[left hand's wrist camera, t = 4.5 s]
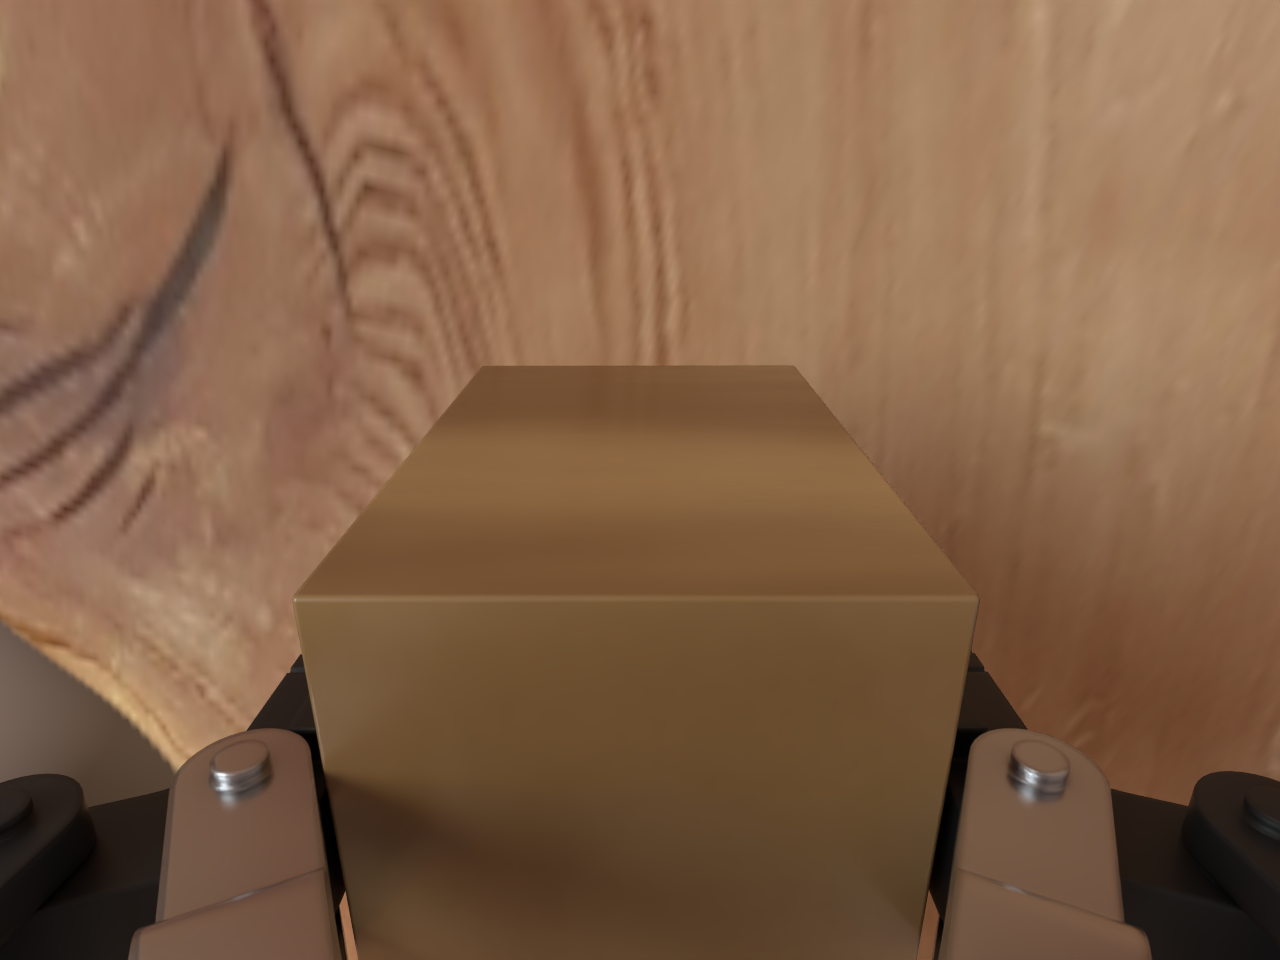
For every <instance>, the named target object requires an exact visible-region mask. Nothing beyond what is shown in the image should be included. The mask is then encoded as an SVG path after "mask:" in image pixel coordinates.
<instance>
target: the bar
mask: <svg viewBox="0 0 1280 960" xmlns="http://www.w3.org/2000/svg"><path fill="white" fill-rule="evenodd" d="M979 602H980V599H979V595H978V594H977V592H976V591H975V590H974V589H973V587H972V586H971V585H970V584H969V582H968V581H967V580H966V579H965V578H964V576H963V575H962V574H961V573H960V571H959V570H958V569H957V568H956V566H955V565H954V564H953V563H952V561H951V560H950V559H949V558H948V556H947V555H946V554H945V553H944V551H943V550H942V549H941V548H940V546H939V545H938V544H937V543H936V541H935V540H934V539H933V538H932V537H931V535H930V534H929V533H928V532H927V530H926V529H925V528H924V527H923V525H922V524H921V523H920V522H919V520H918V519H917V518H916V517H915V515H914V514H913V513H912V512H911V510H910V509H909V508H908V507H907V505H906V504H905V503H904V502H903V500H902V499H901V498H900V497H899V496H898V494H897V493H896V492H895V491H894V489H893V488H892V487H891V486H890V484H889V483H888V482H887V481H886V479H885V478H884V477H883V476H882V474H881V473H880V472H879V471H878V469H877V468H876V467H875V466H874V464H873V463H872V462H871V461H870V459H869V458H868V457H867V456H866V454H865V453H864V452H863V451H862V450H861V448H860V447H859V446H858V445H857V443H856V442H855V441H854V440H853V438H852V437H851V436H850V435H849V433H848V432H847V431H846V430H845V428H844V427H843V426H842V425H841V423H840V422H839V421H838V420H837V418H836V417H835V416H834V415H833V413H832V412H831V411H830V410H829V409H828V407H827V406H826V405H825V404H824V402H823V401H822V400H821V399H820V397H819V396H818V395H817V394H816V392H815V391H814V390H813V389H812V387H811V386H810V385H809V384H808V382H807V381H806V380H805V379H804V377H803V376H802V375H801V374H800V372H799V371H798V370H797V369H796V367H795V366H483V367H481V368H480V370H479V371H478V372H477V373H476V375H475V376H474V377H473V378H472V379H471V381H470V382H469V383H468V384H467V386H466V387H465V388H464V389H463V390H462V392H461V393H460V394H459V395H458V396H457V398H456V399H455V400H454V401H453V403H452V404H451V405H450V406H449V407H448V409H447V410H446V411H445V412H444V413H443V415H442V416H441V417H440V418H439V420H438V421H437V422H436V423H435V424H434V426H433V427H432V428H431V429H430V430H429V432H428V433H427V434H426V435H425V437H424V438H423V439H422V440H421V441H420V443H419V444H418V445H417V446H416V448H415V449H414V450H413V451H412V452H411V454H410V455H409V456H408V457H407V458H406V460H405V461H404V462H403V463H402V465H401V466H400V467H399V468H398V469H397V471H396V472H395V473H394V474H393V475H392V477H391V478H390V479H389V480H388V482H387V483H386V484H385V485H384V486H383V488H382V489H381V490H380V491H379V493H378V494H377V495H376V496H375V497H374V499H373V500H372V501H371V502H370V503H369V505H368V506H367V507H366V508H365V510H364V511H363V512H362V513H361V514H360V516H359V517H358V518H357V519H356V520H355V522H354V523H353V524H352V525H351V527H350V528H349V529H348V530H347V531H346V533H345V534H344V535H343V536H342V537H341V539H340V540H339V541H338V542H337V544H336V545H335V546H334V547H333V548H332V550H331V551H330V552H329V553H328V555H327V556H326V557H325V558H324V559H323V561H322V562H321V563H320V564H319V565H318V567H317V568H316V569H315V570H314V572H313V573H312V574H311V575H310V576H309V578H308V579H307V580H306V581H305V582H304V584H303V585H302V586H301V587H300V589H299V590H298V591H297V592H296V593H295V595H294V596H293V607H294V613H295V618H296V624H297V629H298V635H299V640H300V646H301V651H302V656H303V662H304V667H305V673H306V678H307V684H308V689H309V694H310V700H311V705H312V711H313V716H314V722H315V727H316V733H317V738H318V743H319V749H320V754H321V760H322V765H323V771H324V776H325V781H326V787H327V792H328V798H329V803H330V809H331V814H332V820H333V825H334V830H335V836H336V841H337V847H338V852H339V858H340V863H341V868H342V874H343V879H344V885H345V890H346V896H347V901H348V907H349V912H350V917H351V923H352V928H353V934H354V939H355V945H356V950H357V955H358V960H916V959H917V953H918V947H919V942H920V936H921V930H922V925H923V919H924V913H925V908H926V902H927V896H928V891H929V885H930V879H931V874H932V868H933V862H934V857H935V851H936V845H937V840H938V834H939V828H940V823H941V817H942V811H943V806H944V800H945V794H946V789H947V783H948V777H949V772H950V766H951V760H952V755H953V749H954V744H955V738H956V732H957V727H958V721H959V715H960V710H961V704H962V698H963V693H964V687H965V681H966V676H967V670H968V664H969V659H970V653H971V647H972V642H973V636H974V630H975V625H976V619H977V613H978V608H979Z"/></svg>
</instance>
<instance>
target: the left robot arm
mask: <svg viewBox="0 0 1280 960" xmlns="http://www.w3.org/2000/svg"><path fill="white" fill-rule="evenodd" d="M929 891H930V893H931V896H932V898H933V900H934V903H935V905H936V908H937V910H938V913H939V917H938V923H937V928H936V934H935V941H934V948H933V955H932V960H1280V782H1279V781H1276V780H1273V779H1270V778H1267V777H1263V776H1259V775H1255V774H1250V773H1244V772H1233V771H1225V772H1216V773H1211V774H1208V775H1206V776H1203V777H1202V778H1201V779H1200V780H1199V781H1198V782H1197V783H1196V785H1195V787H1194V790H1193V793H1192V797H1191V800H1190V803H1189V806H1184V805H1180V804H1175V803H1171V802H1166V801H1162V800H1157V799H1153V798H1148V797H1144V796H1139V795H1135V794H1130V793H1126V792H1122V791H1118V790H1114V789H1110V785H1109V782H1108V780H1107V778H1106V776H1105V774H1104V773H1103V772H1102V770H1101V769H1100V768H1099V766H1098V765H1097V764H1096V763H1095V762H1094V761H1093V760H1092V759H1090V758H1089V757H1088V756H1087V755H1085V754H1084V753H1083V752H1081V751H1080V750H1078V749H1077V748H1075V747H1073V746H1072V745H1070V744H1068V743H1066V742H1064V741H1062V740H1060V739H1057V738H1055V737H1052V736H1049V735H1046V734H1043V733H1040V732H1036V731H1031V730H1028V729H1027V728H1026V726H1025V725H1024V723H1023V722H1022V721H1021V719H1020V718H1019V716H1018V715H1017V713H1016V712H1015V711H1014V709H1013V708H1012V706H1011V705H1010V703H1009V702H1008V700H1007V699H1006V698H1005V696H1004V695H1003V693H1002V692H1001V690H1000V689H999V688H998V686H997V685H996V683H995V682H994V680H993V679H992V678H991V676H990V675H989V673H988V672H985V671H984V666H983V665H982V663H981V662H980V660H979V659H978V658H977V656H976V655H975V653H972V652H971V653H970V659H969V664H968V670H967V676H966V681H965V687H964V693H963V698H962V704H961V710H960V715H959V721H958V727H957V732H956V738H955V744H954V749H953V755H952V760H951V766H950V772H949V777H948V783H947V789H946V794H945V800H944V806H943V811H942V817H941V823H940V828H939V834H938V840H937V845H936V851H935V857H934V862H933V868H932V874H931V879H930V885H929ZM344 893H345V885H344V879H343V874H342V868H341V863H340V858H339V852H338V847H337V841H336V836H335V830H334V825H333V820H332V814H331V809H330V803H329V798H328V792H327V787H326V781H325V776H324V771H323V765H322V760H321V754H320V749H319V743H318V738H317V733H316V727H315V722H314V716H313V711H312V705H311V700H310V694H309V689H308V684H307V678H306V673H305V667H304V662H303V656H302V654H300V656H299V657H298V659H297V660H296V661H295V663H294V664H293V666H292V667H291V672H290V673H287V674H286V676H285V677H284V678H283V680H282V681H281V683H280V684H279V686H278V687H277V688H276V690H275V691H274V693H273V694H272V695H271V697H270V698H269V700H268V701H267V702H266V704H265V705H264V707H263V708H262V710H261V711H260V712H259V714H258V715H257V717H256V718H255V719H254V721H253V722H252V724H251V725H250V727H249V728H248V729H247V731H244V732H240V733H237V734H234V735H231V736H228V737H225V738H223V739H221V740H218V741H216V742H214V743H212V744H210V745H208V746H207V747H205V748H204V749H202V750H200V751H199V752H197V753H196V754H195V755H193V756H192V757H191V758H190V759H188V760H187V761H186V762H185V763H184V764H183V765H182V766H181V768H180V769H179V770H178V772H177V773H176V774H175V776H174V778H173V780H172V782H171V785H170V788H168V789H165V790H162V791H159V792H155V793H151V794H147V795H143V796H138V797H133V798H129V799H124V800H120V801H115V802H111V803H106V804H102V805H97V806H93V807H88V805H87V802H86V799H85V796H84V793H83V790H82V788H81V786H80V784H79V783H78V782H77V781H75V780H74V779H72V778H70V777H68V776H64V775H59V774H37V775H30V776H24V777H20V778H16V779H12V780H8V781H5V782H2V783H0V960H348V955H347V948H346V941H345V934H344V928H343V922H342V917H341V912H340V906H339V905H340V903H341V900H342V898H343V895H344Z"/></svg>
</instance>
